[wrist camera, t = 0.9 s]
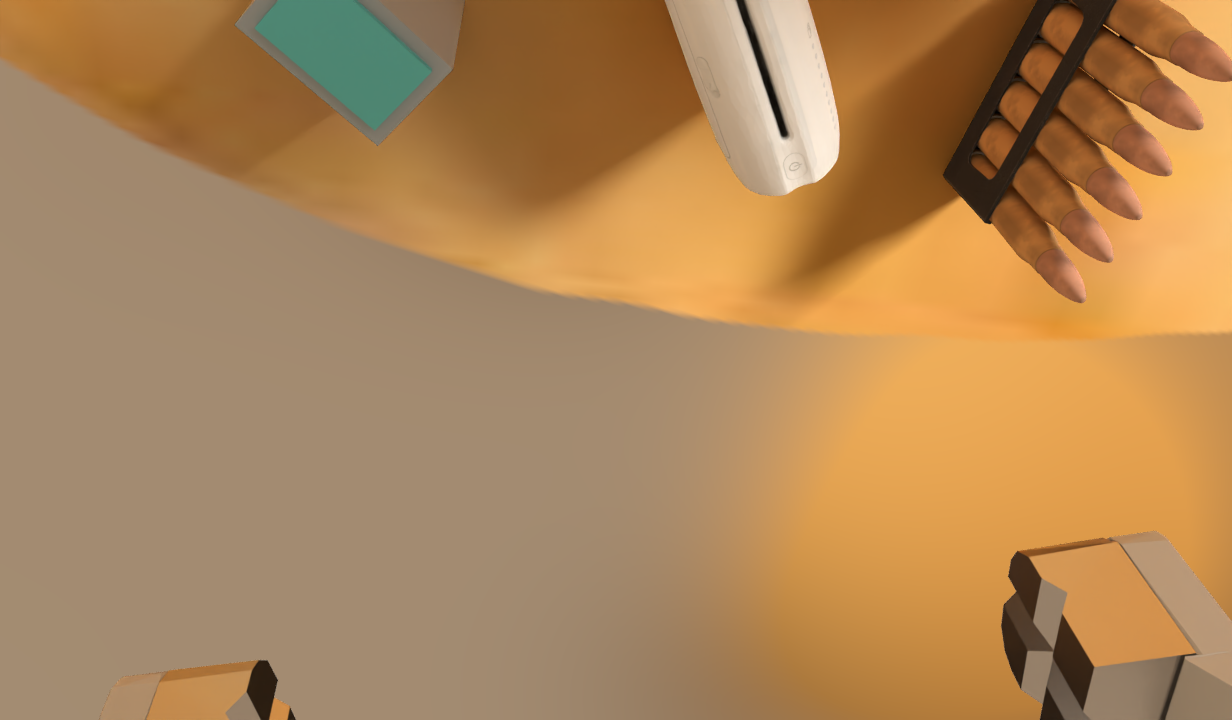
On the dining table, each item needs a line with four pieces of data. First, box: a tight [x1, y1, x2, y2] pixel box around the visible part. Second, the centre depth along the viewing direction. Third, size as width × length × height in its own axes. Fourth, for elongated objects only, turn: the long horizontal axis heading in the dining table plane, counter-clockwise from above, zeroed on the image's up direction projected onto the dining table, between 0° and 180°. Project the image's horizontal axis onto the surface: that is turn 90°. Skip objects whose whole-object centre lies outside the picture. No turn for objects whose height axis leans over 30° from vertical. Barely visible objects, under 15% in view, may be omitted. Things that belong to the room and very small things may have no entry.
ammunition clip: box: [943, 0, 1232, 303], centre depth 40 cm, size 11×2×12 cm, turn 162°
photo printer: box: [664, 0, 840, 196], centre depth 36 cm, size 10×4×12 cm, turn 22°
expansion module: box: [235, 0, 465, 146], centre depth 37 cm, size 4×6×8 cm, turn 43°
